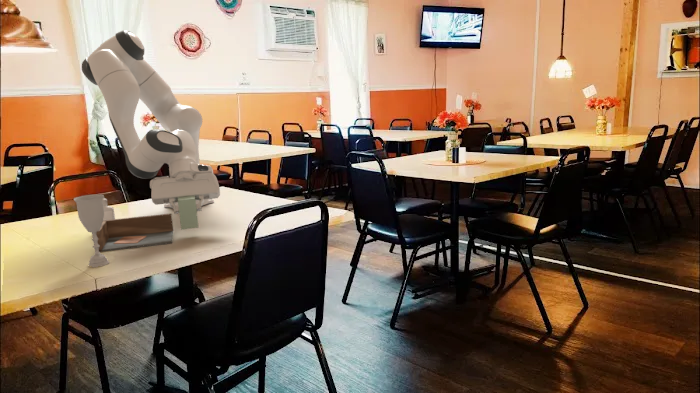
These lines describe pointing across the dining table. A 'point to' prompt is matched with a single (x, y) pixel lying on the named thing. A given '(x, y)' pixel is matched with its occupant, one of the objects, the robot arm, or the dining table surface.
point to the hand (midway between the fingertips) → (188, 211)
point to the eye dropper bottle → (108, 211)
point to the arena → (135, 232)
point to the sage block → (188, 212)
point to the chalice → (92, 222)
